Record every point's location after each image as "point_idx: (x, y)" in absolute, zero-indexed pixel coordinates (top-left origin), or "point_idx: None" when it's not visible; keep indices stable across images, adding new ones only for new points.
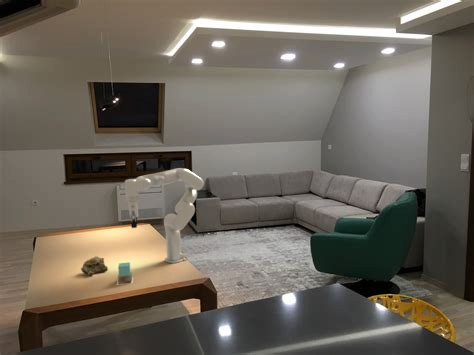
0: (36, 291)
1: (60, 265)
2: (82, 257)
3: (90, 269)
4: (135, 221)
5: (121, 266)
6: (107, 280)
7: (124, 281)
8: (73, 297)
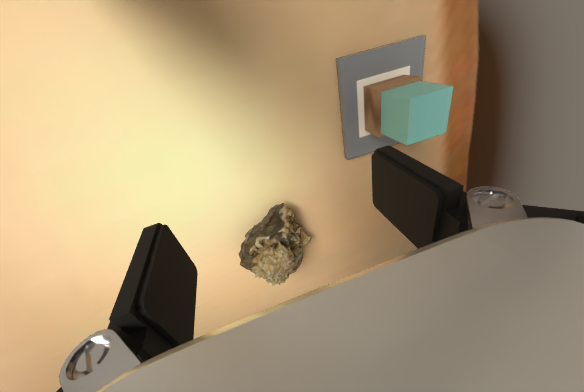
0: None
1: None
2: None
3: (297, 248)
4: (455, 200)
5: (447, 120)
6: (341, 172)
7: None
8: None
